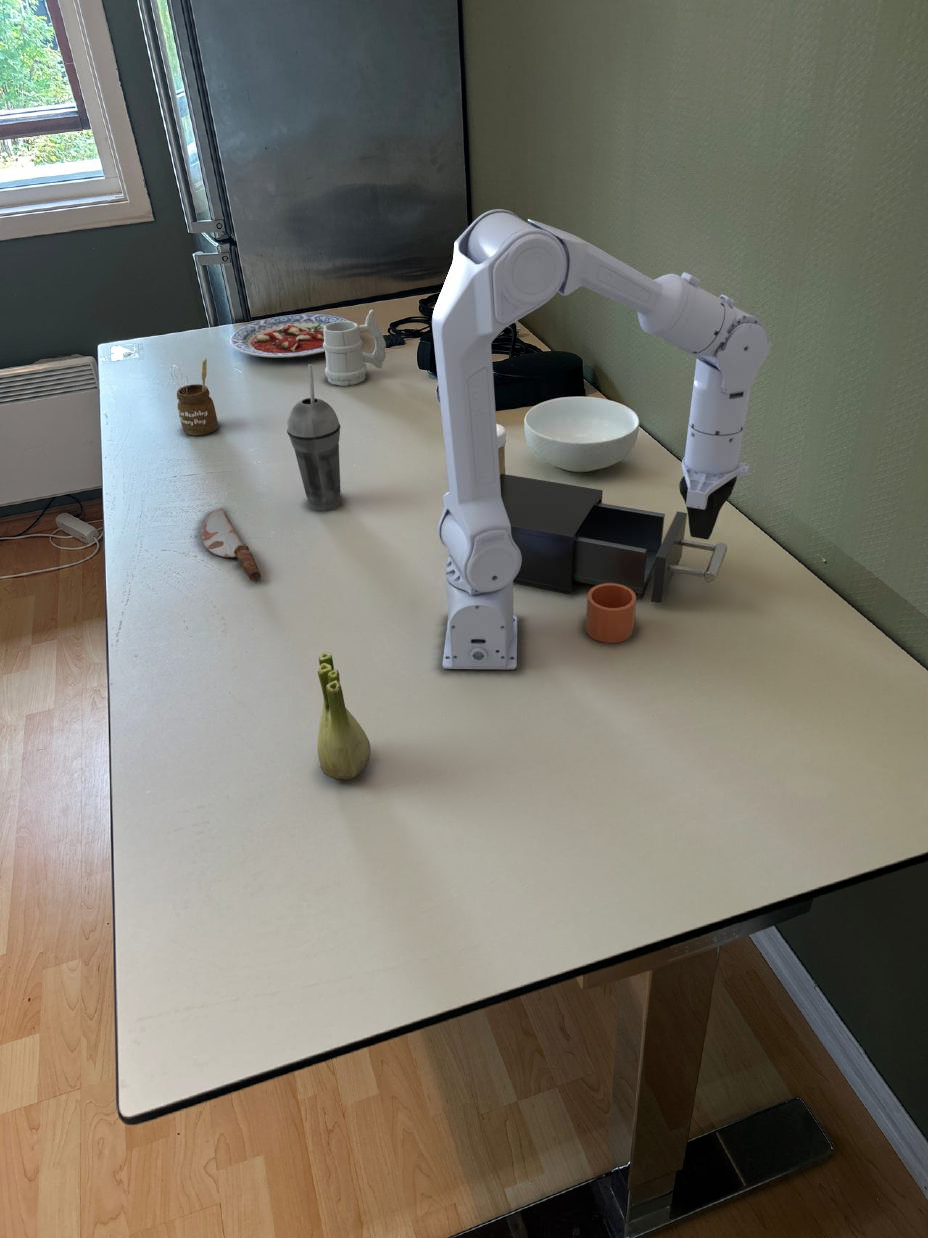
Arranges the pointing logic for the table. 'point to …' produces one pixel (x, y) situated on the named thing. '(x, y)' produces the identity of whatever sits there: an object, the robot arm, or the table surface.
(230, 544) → the kitchen knife
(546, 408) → the cereal bowl
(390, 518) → the table surface
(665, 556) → the dish drawer
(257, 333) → the ceramic plate
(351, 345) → the mug
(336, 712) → the fennel bulb
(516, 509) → the black drawer box
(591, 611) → the terracotta cup
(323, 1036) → the table surface
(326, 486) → the beverage cup
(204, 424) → the utensil holder
